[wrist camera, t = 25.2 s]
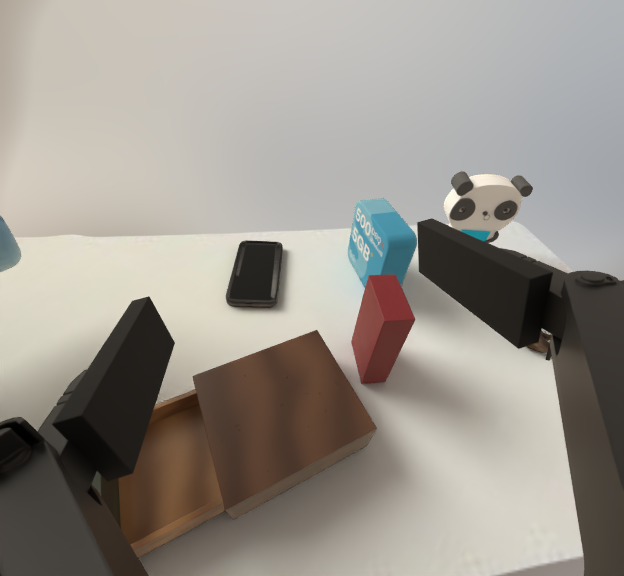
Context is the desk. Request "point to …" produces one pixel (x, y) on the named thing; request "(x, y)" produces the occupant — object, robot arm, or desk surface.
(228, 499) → the box
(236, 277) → the phone
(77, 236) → the desk surface
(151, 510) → the drawer
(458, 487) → the desk surface
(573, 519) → the desk surface
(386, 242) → the data package
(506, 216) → the panda figurine
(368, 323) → the card box
